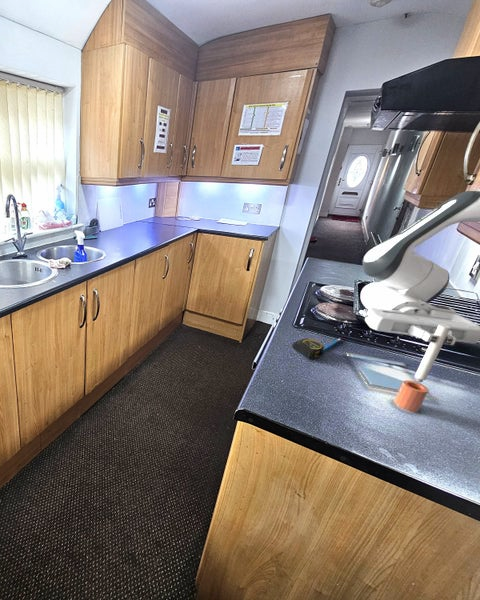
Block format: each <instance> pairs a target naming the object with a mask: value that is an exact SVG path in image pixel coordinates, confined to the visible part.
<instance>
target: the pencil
mask: <svg viewBox="0 0 480 600" xmlns="http://www.w3.org/2000/svg"><path fill="white" fill-rule="evenodd" d="M340 341H342V339H341V337H338V338H337V339H335V340H334V341H332V342H331V343H329V344H328V345H326V346H323V347H324V351H326V350H328V349H329V348H331V347H332V346H334V345H335V344H337V343H339V342H340Z"/></svg>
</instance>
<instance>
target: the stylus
mask: <svg viewBox="0 0 480 600" xmlns="http://www.w3.org/2000/svg"><path fill="white" fill-rule="evenodd" d="M450 328H451V327H449V326H447V325H442V324H439V325H438V327H437V330H436V332H435V334H436V335H437V336H438V338H437V339H436V342H429V344H428V347H427V349H426V351H425V353H424V356H423V357H422V360H421V362H420V364H419V365H418V368H417V370H416V372H415V374H414V377H415V382H417V383H423V382H424V381H426V379H428V378H427V377H428V375H429V373H430V372H431V370H432V367H433V365H434V363H435V361H436V359H437V357H438V355H439V353H440V351H441V349H442V347H443V345H444V344H443V343H444V341H445V338H446V336H447V334H448V332H449V330H450Z"/></svg>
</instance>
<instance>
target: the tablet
mask: <svg viewBox="0 0 480 600" xmlns="http://www.w3.org/2000/svg"><path fill="white" fill-rule="evenodd" d="M344 354H345V356H346V357H351V358H357V359H363V360H369V361H374V362H378V363H379V362H380V363H386V364H392V365H397V366H403V367H407V365H406V364H405V363H404V362H403V361H402V362H401V361H397V360H396V361H395V360H391V359H385V358H379V357H374V356H368V355H363V354H357V353H353V352H345V353H344ZM358 367H359V368H360V369H357V371H358V373H359V375H360V377H361V378H362V380H363V381H364V383H365V385H366V386H367V387H368V388H371V389H378V390H383V391H388V392H394V393H398V391H399V389H400V387H401V385H402V383H403V381H404V380H402V379H399V378H396V377H393V376H390V375H388V374H384V373H381V372H379V371H376V370H373V369H370V368H367V367H364V366H361V365H358ZM425 399H429V400H435V401H439V399H438V398H437V397H436V396H433V395H431V394H430V393H429V392H428V394H427V396H426V398H425Z"/></svg>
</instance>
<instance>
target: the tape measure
mask: <svg viewBox="0 0 480 600" xmlns="http://www.w3.org/2000/svg"><path fill="white" fill-rule="evenodd" d="M291 347H292V349H293V350H294V351H296V352H298V353H299V354H301V355H302V356H304V357H305V358H306V359H308V360H313V359H317V358H321V356H323V355H324V351H325V350H324V347H325V346H324V344H322V342H320V341H318V340H315V339H312V338H301V339H298V340H297V341H294V342H293V343H292V345H291Z"/></svg>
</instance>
